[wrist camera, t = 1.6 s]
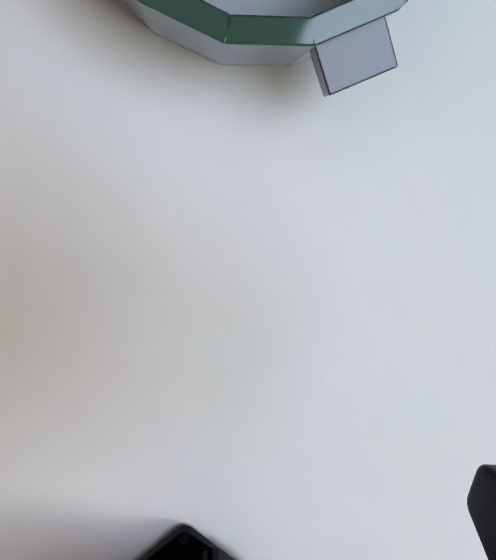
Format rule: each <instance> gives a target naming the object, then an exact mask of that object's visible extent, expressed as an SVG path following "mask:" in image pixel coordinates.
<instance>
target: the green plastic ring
mask: <svg viewBox="0 0 496 560" xmlns="http://www.w3.org/2000/svg"><path fill="white" fill-rule="evenodd" d="M124 1H125V2H126V4H127V5H128V6H129V7H130V8H131V9H132V10H133V11H134V12H135V13H136V14H137V15H138V16H139V18H140V19H141V20H142V21H143V22H144V23H145V24H146V25H147V26H148V27H149V28H150V29H151V30H152V32H154V33H155V34H157V35H159V36H161V37H163V38H166V39H168V40H170V41H172V42H174V43H176V44H178V45H180V46H182V47H184V48H186V49H189V50H191V51H193V52H195V53H197V54H199V55H201V56H203V57H205V58H207V59H210V60H212V61H214V62H216V63H218V64H222V65H257V66H291V65H293V64H296V63H298V62H300V61H303V60H305V59H307V58H310V57H311V58H312V61H313V64H314V68H315V71H316V74H317V77H318V80H319V83H320V86H321V90H322V93H323V96H324V97H326V96H330V95H332V94H335V93H337V92H339V91H342V90H344V89H347V88H349V87H351V86H354V85H356V84H358V83H361V82H363V81H365V80H368V79H370V78H373V77H375V76H377V75H380V74H382V73H384V72H387V71H389V70H391V69H394V68H396V67H397V61H396V57H395V53H394V49H393V45H392V42H391V38H390V34H389V30H388V26H387V22H386V18H387V17H388V16H390V15H392V14H393V13H395V12H396V11H398V10H399V9H400V8H401V7H402V6H403V5H404V4H405V3H406V2H407V1H408V0H348V1H346V2H344V3H341V4H339V5H337V6H334V7H332V8H330V9H327V10H325V11H323V12H321V13H318V14H316V15H314V16H311V17H293V16H264V15H235V14H229V13H227V12H225V11H223V10H221V9H219V8H217V7H215V6H213V5H211V4H209V3H207V2H205V1H203V0H124Z"/></svg>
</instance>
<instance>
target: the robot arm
mask: <svg viewBox="0 0 496 560" xmlns="http://www.w3.org/2000/svg"><path fill="white" fill-rule="evenodd" d="M467 505H468V510H469V513H470V515H471V518H472V520H473V523H474V525H475V528H476V530H477V533H478V535H479V538H480V540H481V543H482V545H483V548H484V550H485V553H486V555H487V558H488V560H496V465H488V464H484V465H481V466H480V467H479V468H478V469H477V471H476V474H475V477H474V480H473V482H472V485H471V488H470V491H469V494H468V497H467ZM184 536H185V537H184ZM139 560H234V559H233V558H232V557H230V556H229V555H228V554H227V553H225V552H224V551H223V550H221V549H220V548H218V547H217V546H215V545H214V544H213V543H211V542H210V541H209V540H208V539H206V538H205V537H204V536H202V535H201V534H200V533H198V532H197V531H196V530H194V529H193V528H192V527H190V526H181V527H179V528H178V529H177V530H175V531H174V532H173V533H172V534H170V535H169V536H168V537H167V538H165V539H164V540H163V541H162V542H160V543H159V544H158V545H157V546H155V547H154V548H153V549H152V550H150V551H149V552H148V553H147V554H145V555H144V556H143V557H142V558H140V559H139Z"/></svg>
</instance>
